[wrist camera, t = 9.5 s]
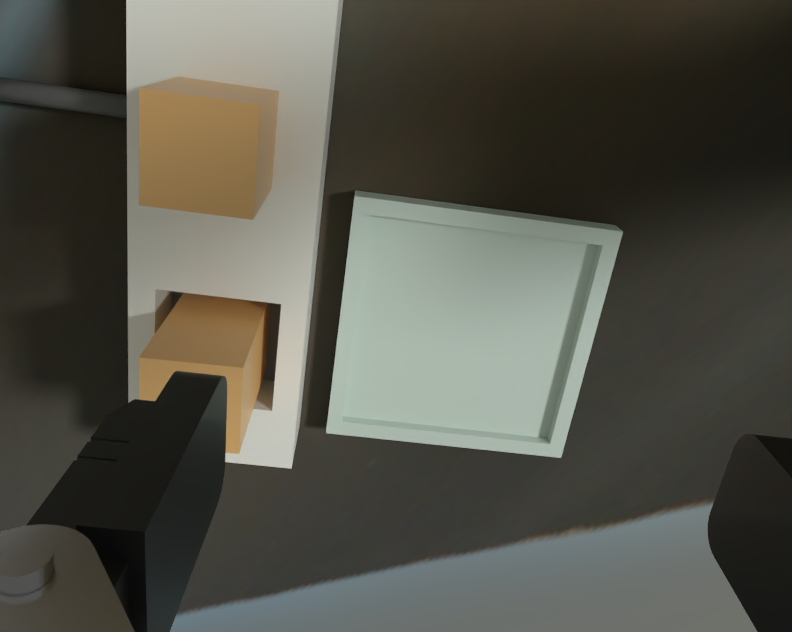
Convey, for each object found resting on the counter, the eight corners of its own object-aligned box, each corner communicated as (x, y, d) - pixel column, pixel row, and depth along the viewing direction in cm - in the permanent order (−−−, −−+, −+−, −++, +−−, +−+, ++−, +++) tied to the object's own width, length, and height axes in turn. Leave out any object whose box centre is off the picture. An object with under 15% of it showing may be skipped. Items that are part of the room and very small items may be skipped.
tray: (615, 225, 35) (623, 231, 34) (555, 445, 40) (561, 457, 39) (354, 190, 34) (354, 196, 33) (327, 421, 39) (325, 432, 38)
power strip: (343, -7, 31) (332, -17, 22) (299, 426, 39) (278, 536, 31) (-52, -68, 29) (-220, -103, 21) (-10, 393, 38) (-118, 499, 29)
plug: (270, 293, 35) (243, 367, 27) (266, 365, 36) (239, 453, 29) (189, 285, 34) (138, 357, 27) (188, 357, 36) (140, 445, 29)
